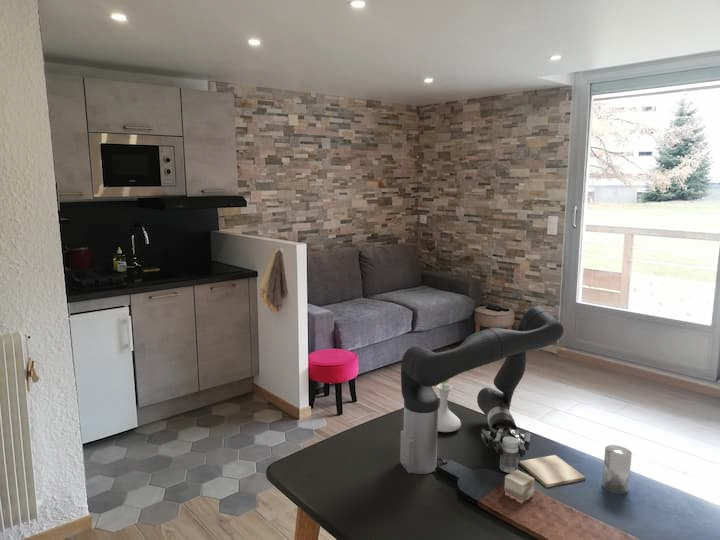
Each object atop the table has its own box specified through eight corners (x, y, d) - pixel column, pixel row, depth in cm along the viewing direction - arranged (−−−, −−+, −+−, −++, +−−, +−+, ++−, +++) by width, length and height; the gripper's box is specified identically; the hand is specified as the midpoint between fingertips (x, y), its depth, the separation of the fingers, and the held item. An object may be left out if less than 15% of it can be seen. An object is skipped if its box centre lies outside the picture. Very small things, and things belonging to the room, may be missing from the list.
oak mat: (546, 487, 131) (546, 484, 131) (518, 463, 142) (519, 461, 142) (585, 479, 134) (585, 477, 134) (555, 457, 146) (555, 454, 145)
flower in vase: (441, 416, 172) (443, 344, 168) (468, 428, 163) (471, 353, 159) (414, 427, 163) (416, 352, 160) (440, 440, 155) (443, 361, 151)
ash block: (521, 504, 124) (522, 485, 123) (504, 494, 128) (505, 476, 127) (533, 497, 127) (534, 478, 126) (516, 487, 131) (517, 469, 130)
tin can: (614, 495, 127) (618, 458, 126) (596, 482, 133) (599, 446, 131) (633, 491, 129) (637, 454, 128) (615, 479, 135) (618, 443, 133)
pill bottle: (519, 473, 135) (522, 444, 134) (502, 473, 136) (504, 443, 134) (514, 464, 140) (516, 435, 139) (497, 463, 140) (499, 435, 139)
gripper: (525, 437, 151) (538, 468, 134) (476, 434, 152) (483, 464, 136) (527, 413, 150) (540, 441, 133) (477, 410, 151) (484, 437, 134)
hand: (511, 452), depth 134 cm, fingers closed on pill bottle, 4 cm apart
